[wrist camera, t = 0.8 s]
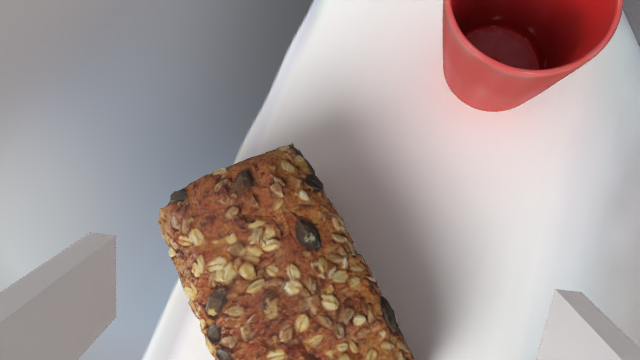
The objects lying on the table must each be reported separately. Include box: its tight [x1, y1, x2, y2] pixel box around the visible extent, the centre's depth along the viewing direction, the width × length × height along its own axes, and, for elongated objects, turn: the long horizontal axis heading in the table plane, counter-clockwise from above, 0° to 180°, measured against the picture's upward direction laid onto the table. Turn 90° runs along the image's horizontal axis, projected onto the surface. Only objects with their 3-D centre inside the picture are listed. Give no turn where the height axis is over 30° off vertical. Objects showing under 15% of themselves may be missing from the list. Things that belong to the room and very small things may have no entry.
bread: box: [158, 143, 415, 360], centre depth 29 cm, size 19×11×10 cm, turn 27°
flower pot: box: [443, 0, 623, 112], centre depth 32 cm, size 11×11×10 cm
